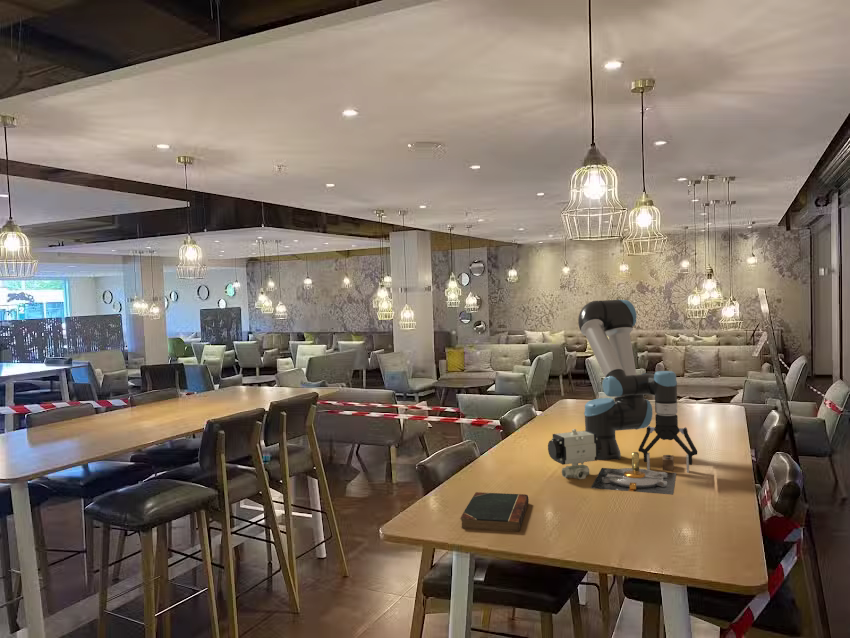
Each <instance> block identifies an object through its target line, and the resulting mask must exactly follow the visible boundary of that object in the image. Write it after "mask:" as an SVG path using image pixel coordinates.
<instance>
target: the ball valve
mask: <svg viewBox="0 0 850 638" xmlns="http://www.w3.org/2000/svg"><path fill="white" fill-rule="evenodd" d="M547 444H548V445H547V451H548V455H549V457H550V458H551V459H552V460H553V461H555V462H557V463H558V464H561V465H566V466H565V467H562V469H561V475H562V477H563V478H565V479H567V478H569V479H572V478H573V479H577V480H584V479H586V478H587V476H589V475H590V468H589V466H588V465H587V464H586V465H584V463H589V462H595V461H596V462H597V461H598V460H597V457H598V454H600V452H601V450H602V445H601V441H600V439H599V437H598V436H596V434H594V433H591V432H589V431H585V430H580V431H578V430H577V429H576V428H572V430H571V431H569V432H560V433H552V438H551V440H549V441H548V443H547ZM570 464H571V465H570Z"/></svg>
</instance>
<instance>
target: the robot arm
mask: <svg viewBox="0 0 850 638" xmlns="http://www.w3.org/2000/svg"><path fill="white" fill-rule="evenodd" d="M637 317H638V316H637V311H636V307H635V306H634V304H633V302H631V301H629V300H627V299H609V300H608V299H607V300H592V301H590V302H588V303H586V304H585V305H584V306H583V307H582V308H581V310H580V312H579V315H578V317H577V318H578V319H577V320H578V323H577V324H578V328H579V330H580V333H581V335H582V336H584V337H586V340H587V341H588V344H589V346H590V348H591V350H592V352H593V353H592V354H593V355H594V357H595V360H596V361H597V363H598V366H599V368H600V370H601V371H602V375H603V376H604V379H602V390H603V393H604V395H606V396H607V397H604V398H602V397H601V398H599V397H598V398H595V399H592V400H589V401H587V402H586V403H585V405H584V413H583V414H584V425H585V427H584V428H585V430H584V431H589V432H591V433H594V434H596V436H598V437H599V439H600V441H601V445H602V450H601V452H600V454H598V457H597V461H609V460H611V461H612V460H613V461H619V460H620V459H621V458H622V457H621V454H622V453H621V450H620V447H619V445H618V442H617V439H616V438H617V437H616V432H617V431H627V430H629V431H630V430H641V429H646V433H645V436H644V437H643V439H642V441H641V443H640V445H639V447H638V451H637V452H638V453H642V454H643V461H644V463H646V469H647V470H651V464H650V463H651V462H650V460H651V458H650V456H651V455H650V452H649V451H650V450H651V449H652V448H653V447H654V446H655V444H657V442H659V440H660V439H661V440H662V441H665V440H668V441H672V440H674V441H675V442H676V443H677V444H678V445H679V446H680V447H681V449H682V450H683V451H684V452H685V453H686V454H685V455H686V456H685V457H686V458H685V461H686V462H685V463H686V473H688V474H689V473H690V466H692V465H693V456H697V455H698V450H697V448H696V446H695V445H694V442H693V440H692V438H691V437H690V435H689V433H688V432H689V431H688V428H687V427H686V426H685V427H683V428H682V427H681V428H680V427H679V421H678V418H679V417H678V415H677V414H678V381H677V374H676V372H674V371H671V370H658V371H655V372H654V373H652V372H643V373H641V374H637V369H636V365H635V358H634V351H633V350H634V349H633V346H632V340H631V333H632V331H633V329H634V326H635V325H636V323H637ZM645 395H653V396H654V409H655V413H656V414H655V427H653V426H650V425H651V422H652V419H653V406H652V404H651V401H650V400H649V399H647V398H645ZM611 397H613V398H611ZM653 432H655V433H656V436H655V437H654V438H653V439H652V440H651V441H650V442H649V444H648V445H647V446H646V447H645V445H646V443H647V440H648V439H649V436H650V434H652V433H653ZM679 433H681V435H683V436H684V438H685V439H686V440H685V441H686V442H687V444H688V445H689V447H690V449H689V447H688V446H687V445H686V444H685V443H684V442H683V441H682V439H681V438H680V437H679V436H678V434H679ZM644 447H645V448H644Z"/></svg>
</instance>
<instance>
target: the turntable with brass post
mask: <svg viewBox="0 0 850 638" xmlns="http://www.w3.org/2000/svg"><path fill="white" fill-rule="evenodd" d="M631 466H632V467H624V468H614V469H615V470H612V469H613V468H611V469H606V470H605V474H607V477H602V482H603V483H613V484H616V485H619V486H625V487H630V489H634V490H636V488H645V487H654V486H661V487H665V486H667V481H663V478H667V473H666V472H667V471H656V472H655V470H651V469H650V470H647V468H640V452H639V451H633V452H631Z"/></svg>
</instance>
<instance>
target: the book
mask: <svg viewBox="0 0 850 638" xmlns="http://www.w3.org/2000/svg"><path fill="white" fill-rule="evenodd" d="M528 505H529V496H528V494H525V493H523V494H522V493H500V492H498V493H497V492H480V491H479V492H477V491H476V492H475V493H474V494H473V496H472V498H471V499H470V501H469V502H468V503H467V506H466V507H465V509H464V511H463V512H462V513H461V516H460V518H459V519H460V520H461V529H470V530H472V529H474V530H488V531H489V530H490V531H504V532H506V531H509V532H520V530H521V527H522V524H523V521H524V517H525V515H526V512H527V509H528Z"/></svg>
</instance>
